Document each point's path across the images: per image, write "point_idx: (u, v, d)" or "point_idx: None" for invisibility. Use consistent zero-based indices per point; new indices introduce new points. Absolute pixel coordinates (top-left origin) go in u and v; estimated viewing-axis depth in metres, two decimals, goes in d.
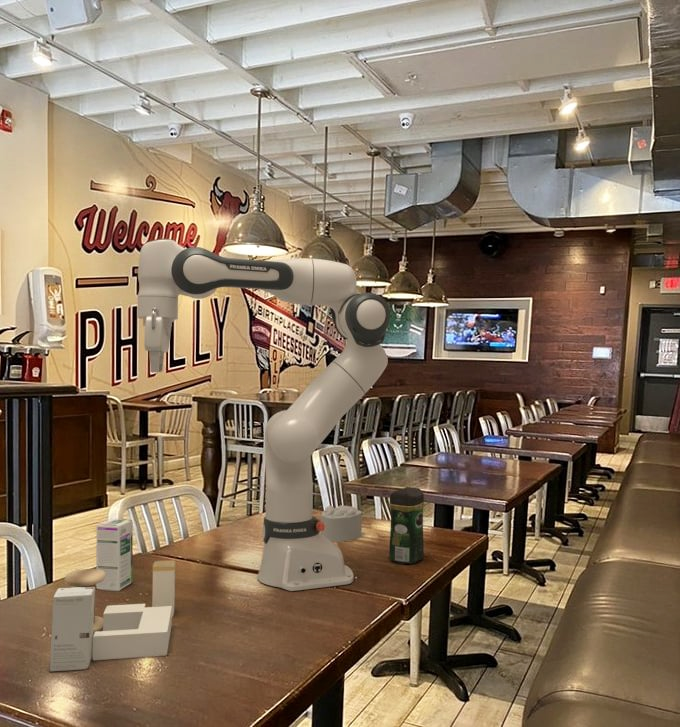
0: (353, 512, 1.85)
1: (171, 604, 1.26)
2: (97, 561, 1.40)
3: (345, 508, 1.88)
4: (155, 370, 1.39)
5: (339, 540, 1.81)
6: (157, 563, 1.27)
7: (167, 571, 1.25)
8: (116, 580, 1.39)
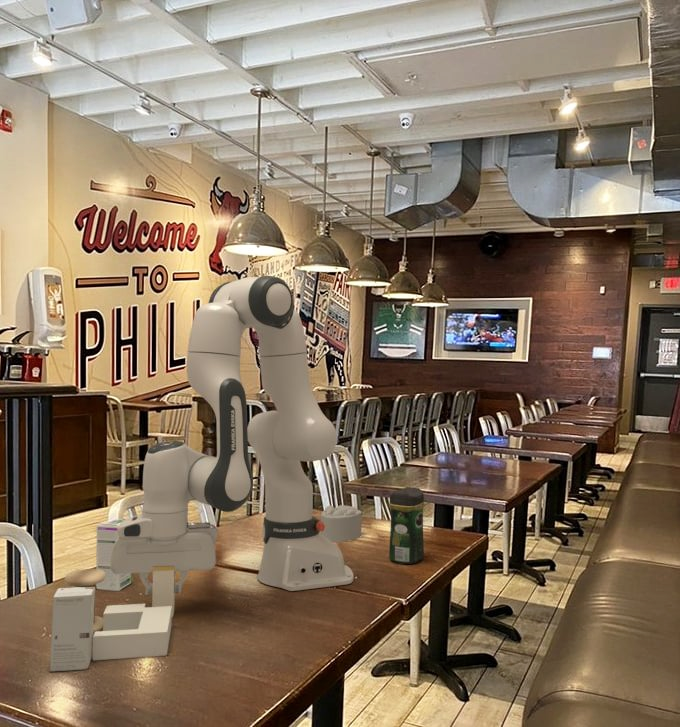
0: (353, 512, 1.85)
1: (171, 604, 1.26)
2: (97, 561, 1.40)
3: (345, 508, 1.88)
4: (181, 589, 1.28)
5: (339, 540, 1.82)
6: None
7: (167, 571, 1.25)
8: (116, 580, 1.39)
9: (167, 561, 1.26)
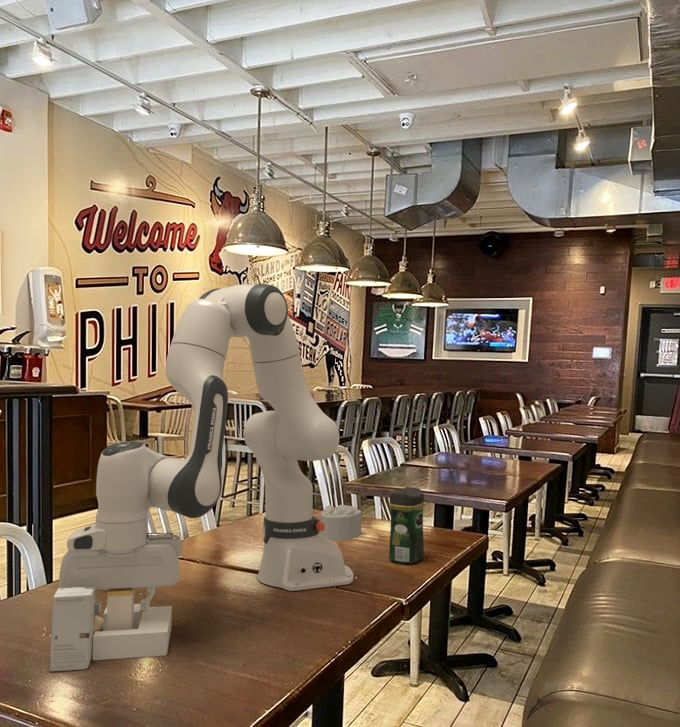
0: (352, 511, 1.85)
1: None
2: None
3: (344, 507, 1.89)
4: None
5: (338, 539, 1.82)
6: None
7: (124, 596, 1.11)
8: None
9: (123, 576, 1.12)
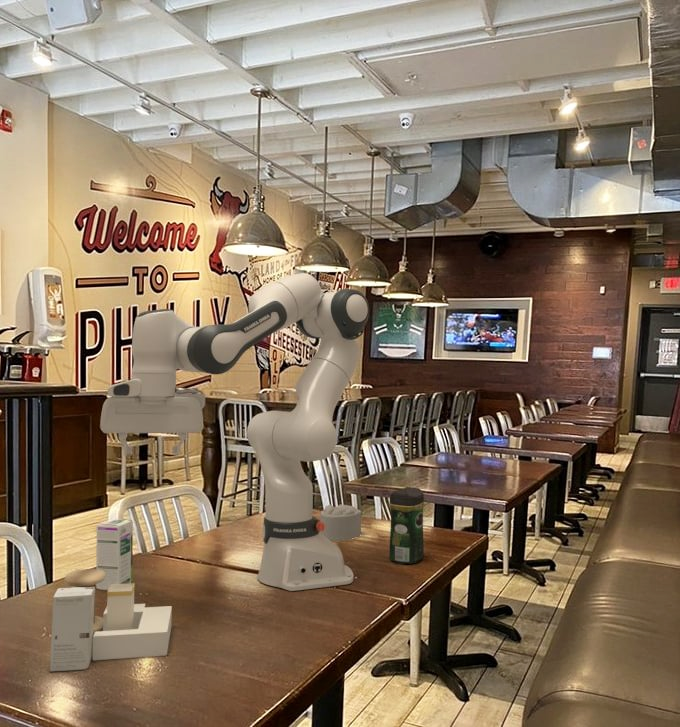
0: (352, 511, 1.86)
1: None
2: (97, 561, 1.40)
3: (344, 507, 1.89)
4: None
5: (338, 539, 1.83)
6: (114, 587, 1.13)
7: (124, 596, 1.11)
8: (116, 580, 1.39)
9: (155, 422, 1.29)
